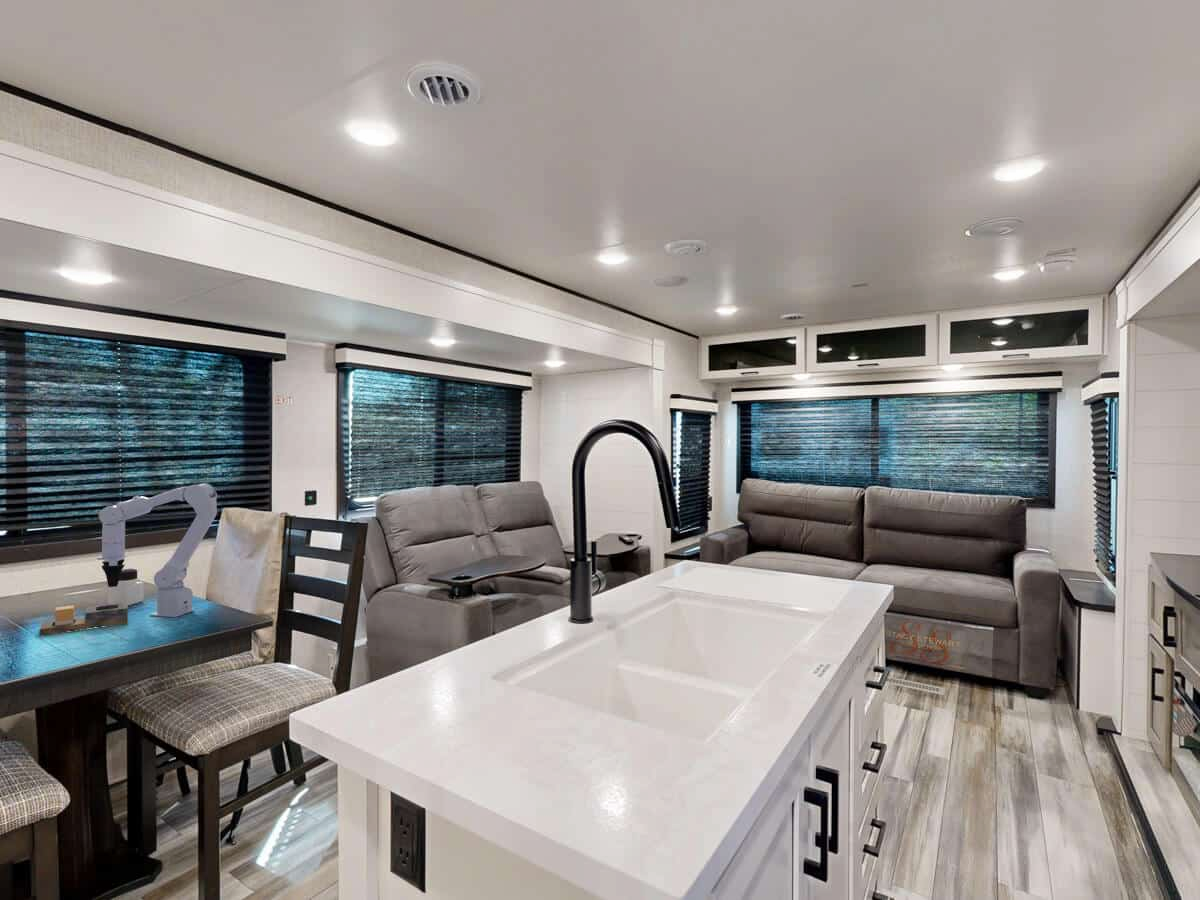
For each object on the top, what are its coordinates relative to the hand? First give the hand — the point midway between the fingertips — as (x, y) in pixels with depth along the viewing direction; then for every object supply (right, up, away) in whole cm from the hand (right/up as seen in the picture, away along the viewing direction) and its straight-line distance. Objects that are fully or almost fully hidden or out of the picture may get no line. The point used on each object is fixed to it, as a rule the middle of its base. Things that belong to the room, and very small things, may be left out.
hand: (113, 584), depth 194 cm
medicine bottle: (-8, -10, +15) cm, 20 cm away
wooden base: (0, -11, -11) cm, 15 cm away
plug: (-4, -11, -14) cm, 18 cm away
